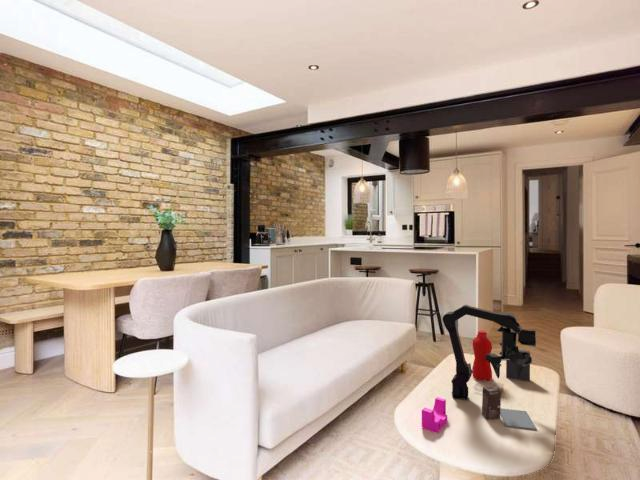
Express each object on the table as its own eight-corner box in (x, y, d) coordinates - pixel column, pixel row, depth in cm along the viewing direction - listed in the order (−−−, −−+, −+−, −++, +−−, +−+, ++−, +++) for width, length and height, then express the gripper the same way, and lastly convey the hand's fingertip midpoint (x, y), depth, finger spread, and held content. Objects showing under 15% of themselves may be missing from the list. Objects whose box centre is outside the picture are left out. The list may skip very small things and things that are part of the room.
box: (488, 420, 153) (488, 391, 153) (481, 415, 157) (481, 386, 157) (501, 418, 154) (501, 390, 154) (494, 413, 159) (494, 385, 158)
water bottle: (468, 373, 204) (468, 328, 203) (490, 375, 201) (490, 329, 200) (470, 380, 195) (470, 332, 194) (493, 382, 192) (493, 334, 191)
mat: (505, 426, 148) (505, 425, 148) (498, 409, 162) (498, 408, 162) (536, 430, 145) (536, 428, 145) (526, 412, 160) (526, 411, 160)
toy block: (437, 434, 143) (437, 414, 143) (421, 428, 147) (421, 409, 147) (451, 419, 155) (451, 401, 154) (437, 414, 159) (437, 396, 158)
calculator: (529, 379, 196) (529, 350, 196) (529, 382, 192) (530, 353, 192) (506, 375, 201) (506, 347, 201) (506, 378, 197) (506, 350, 197)
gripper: (500, 348, 155) (499, 385, 155) (541, 347, 157) (540, 384, 158) (485, 340, 166) (484, 375, 166) (523, 339, 168) (522, 374, 169)
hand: (507, 377), depth 165 cm, fingers open, 9 cm apart
